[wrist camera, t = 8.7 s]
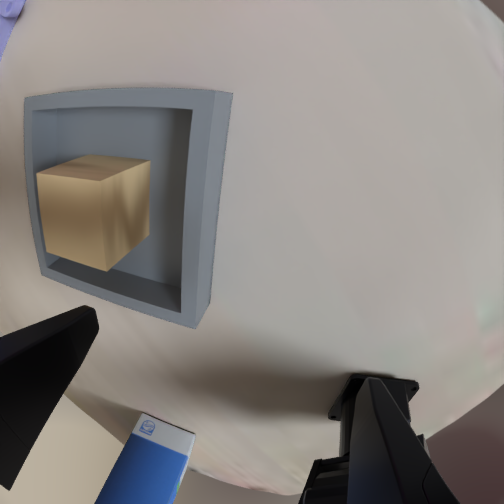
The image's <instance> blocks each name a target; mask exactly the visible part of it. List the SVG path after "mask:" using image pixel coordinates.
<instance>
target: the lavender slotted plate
mask: <svg viewBox="0 0 504 504" xmlns="http://www.w3.org/2000/svg"><path fill="white" fill-rule="evenodd" d="M25 1H26V0H0V60H1V57H2V55H3V52H4V49H5V47H6V44H7V41H8V39H9V36H10V34H11V32H12V29H13V27H14V25H15V22H16V20H17V18H18V16H19V14H20V12H21V10H22V7H23V5H24V3H25Z"/></svg>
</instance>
